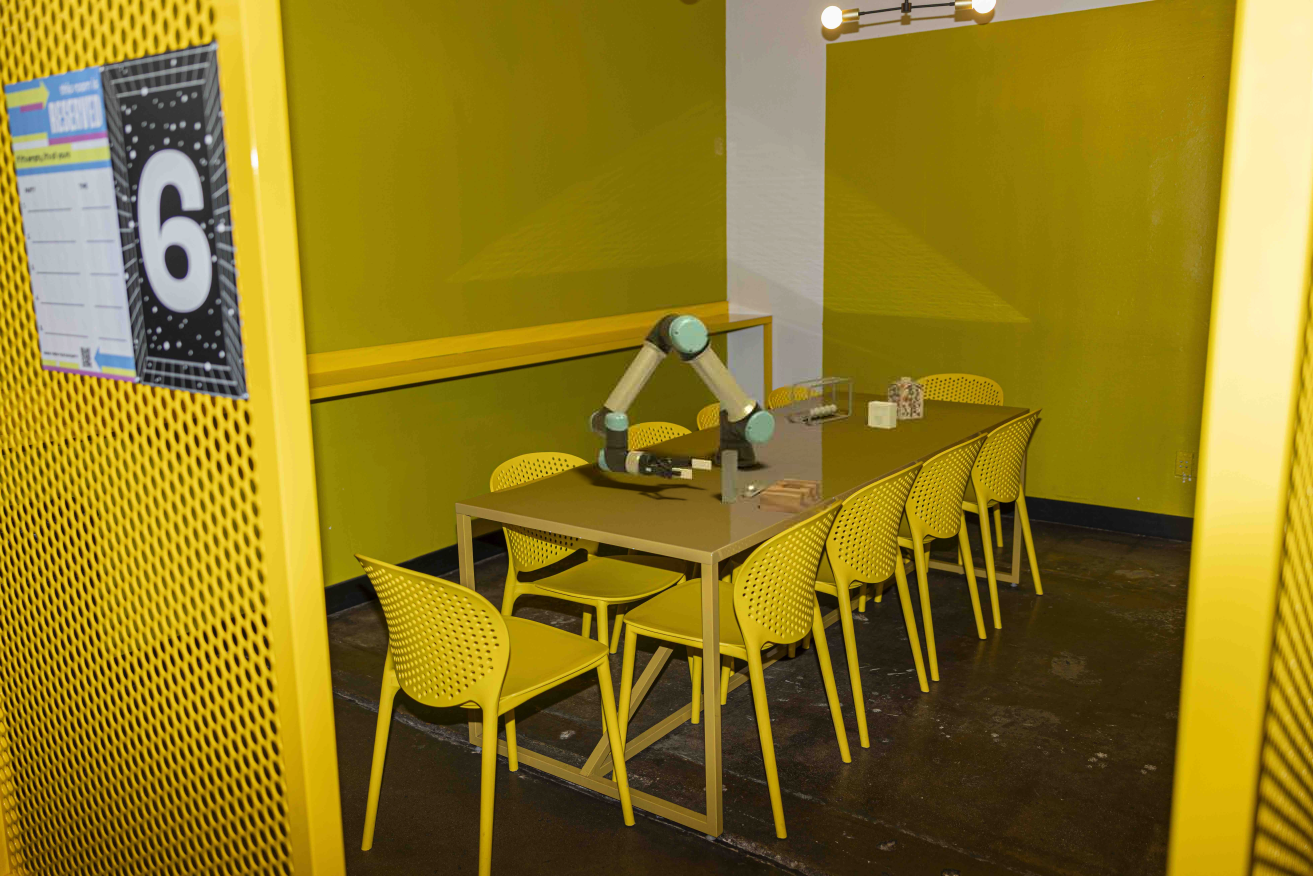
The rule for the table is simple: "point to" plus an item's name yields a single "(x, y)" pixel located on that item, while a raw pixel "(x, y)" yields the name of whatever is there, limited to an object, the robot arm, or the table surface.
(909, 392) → the decorative jar
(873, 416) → the skincare box
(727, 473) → the square bit
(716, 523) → the table surface
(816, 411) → the newton's cradle
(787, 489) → the holder block
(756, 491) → the round bit
